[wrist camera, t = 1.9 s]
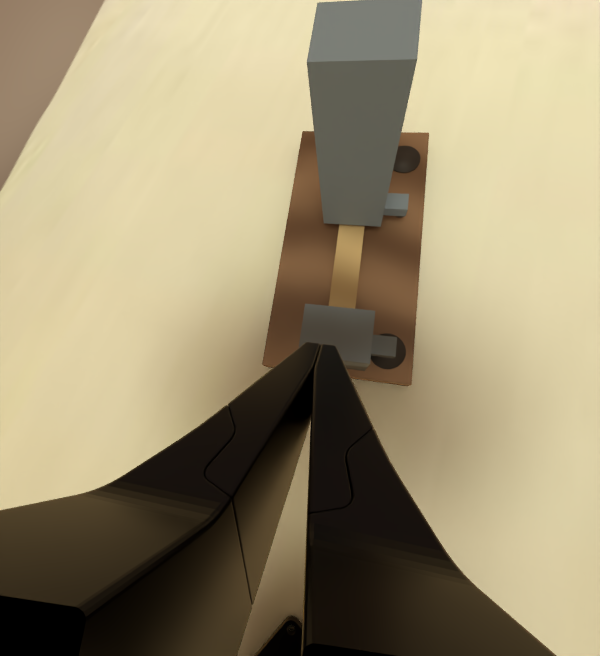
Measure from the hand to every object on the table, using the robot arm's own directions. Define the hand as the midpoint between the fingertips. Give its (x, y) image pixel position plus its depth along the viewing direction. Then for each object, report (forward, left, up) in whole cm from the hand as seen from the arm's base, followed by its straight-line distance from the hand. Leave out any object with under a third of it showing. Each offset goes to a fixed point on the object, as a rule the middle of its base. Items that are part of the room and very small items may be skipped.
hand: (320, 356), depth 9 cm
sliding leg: (+11, +7, -12) cm, 17 cm away
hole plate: (+8, +6, -14) cm, 17 cm away
